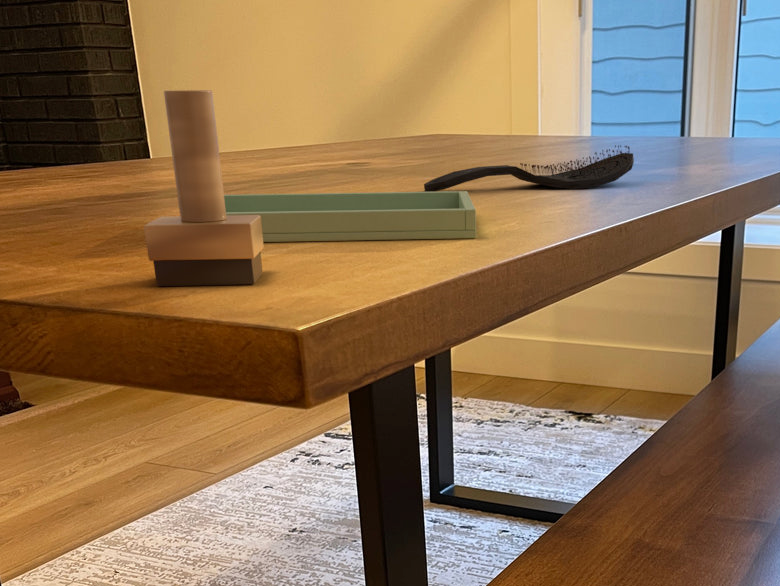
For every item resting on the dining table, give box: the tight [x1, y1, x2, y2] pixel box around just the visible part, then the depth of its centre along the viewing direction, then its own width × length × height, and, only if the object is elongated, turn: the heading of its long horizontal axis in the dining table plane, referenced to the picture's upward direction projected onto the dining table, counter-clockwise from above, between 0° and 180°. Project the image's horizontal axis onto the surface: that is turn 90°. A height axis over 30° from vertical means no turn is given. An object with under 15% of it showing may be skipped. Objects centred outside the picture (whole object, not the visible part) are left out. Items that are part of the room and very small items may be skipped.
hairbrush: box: [423, 144, 635, 192], centre depth 110 cm, size 8×4×25 cm
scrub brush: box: [143, 89, 265, 287], centre depth 58 cm, size 6×4×10 cm, turn 95°
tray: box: [224, 190, 477, 243], centre depth 80 cm, size 22×14×2 cm, turn 95°
